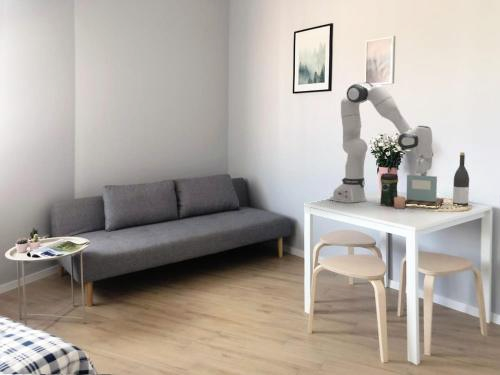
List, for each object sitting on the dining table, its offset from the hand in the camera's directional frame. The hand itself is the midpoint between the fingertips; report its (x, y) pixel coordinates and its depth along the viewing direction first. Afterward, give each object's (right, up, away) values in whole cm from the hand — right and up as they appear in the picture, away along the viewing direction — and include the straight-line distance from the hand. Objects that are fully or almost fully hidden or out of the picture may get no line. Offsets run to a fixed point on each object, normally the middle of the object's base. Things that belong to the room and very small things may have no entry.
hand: (423, 179), depth 262 cm
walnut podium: (+2, -15, +6) cm, 16 cm away
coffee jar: (-16, -15, +11) cm, 25 cm away
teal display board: (-1, -5, 0) cm, 5 cm away
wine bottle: (+22, -15, +4) cm, 27 cm away
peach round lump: (-13, -16, +1) cm, 21 cm away
